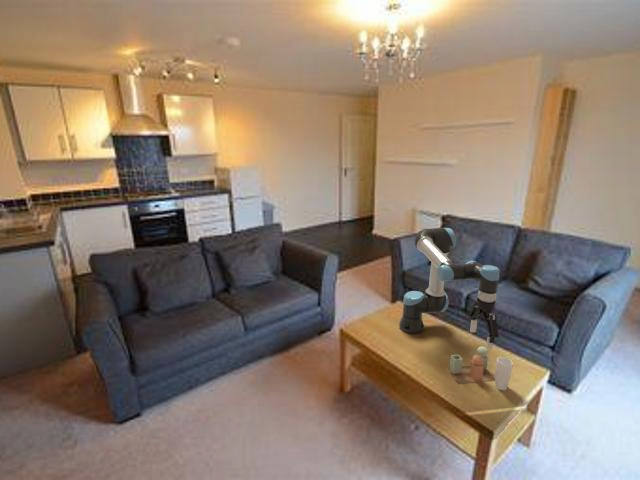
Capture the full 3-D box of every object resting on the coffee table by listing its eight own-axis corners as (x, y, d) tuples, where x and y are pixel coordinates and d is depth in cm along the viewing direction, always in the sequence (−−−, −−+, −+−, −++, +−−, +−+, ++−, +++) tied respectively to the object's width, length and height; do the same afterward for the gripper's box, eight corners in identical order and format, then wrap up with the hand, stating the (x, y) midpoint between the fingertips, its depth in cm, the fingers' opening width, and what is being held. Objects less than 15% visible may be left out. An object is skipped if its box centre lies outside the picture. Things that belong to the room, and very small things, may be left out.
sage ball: (474, 353, 171) (475, 344, 170) (483, 352, 172) (484, 343, 171) (480, 359, 167) (481, 350, 165) (489, 358, 167) (490, 349, 166)
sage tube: (449, 368, 172) (450, 355, 169) (456, 368, 172) (458, 354, 170) (453, 373, 168) (454, 360, 166) (460, 373, 168) (462, 359, 166)
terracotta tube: (469, 375, 167) (471, 361, 164) (477, 374, 167) (479, 360, 165) (474, 380, 163) (476, 366, 161) (481, 379, 163) (483, 365, 161)
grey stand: (474, 366, 173) (476, 352, 171) (481, 365, 174) (483, 352, 171) (478, 371, 169) (480, 357, 167) (486, 370, 170) (488, 357, 168)
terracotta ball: (469, 361, 165) (471, 352, 164) (479, 360, 166) (480, 352, 164) (475, 368, 160) (476, 359, 159) (485, 367, 161) (486, 358, 159)
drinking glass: (489, 383, 162) (493, 357, 158) (503, 382, 163) (507, 356, 159) (497, 394, 156) (502, 366, 152) (511, 392, 156) (516, 365, 152)
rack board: (445, 369, 173) (445, 367, 172) (482, 366, 175) (482, 364, 175) (457, 386, 161) (458, 384, 161) (496, 382, 163) (497, 380, 163)
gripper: (464, 288, 165) (459, 326, 171) (495, 312, 141) (489, 356, 147) (478, 287, 165) (473, 325, 171) (512, 311, 142) (505, 354, 148)
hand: (480, 339), depth 159 cm, fingers open, 13 cm apart
